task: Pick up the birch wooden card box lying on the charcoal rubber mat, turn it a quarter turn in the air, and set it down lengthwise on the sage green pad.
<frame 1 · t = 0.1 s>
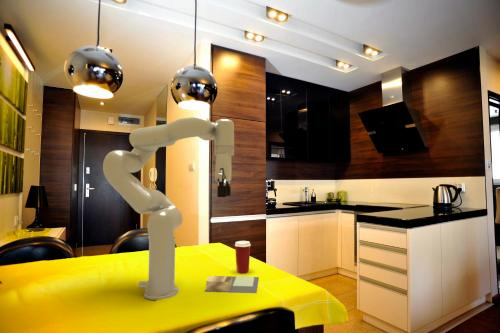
hand: (224, 196, 104), 37 cm above the table, tool pointing down, fingers open, 9 cm apart
paper cup: (242, 272, 128), on the table
mat: (233, 284, 112), on the table
card box: (219, 288, 108), resting on mat
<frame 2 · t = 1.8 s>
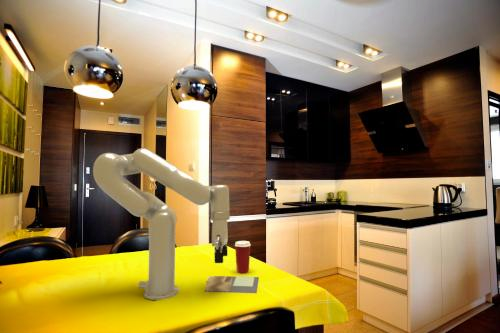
hand: (221, 259, 109), 11 cm above the table, tool pointing down, fingers open, 9 cm apart
nothing on the table moved.
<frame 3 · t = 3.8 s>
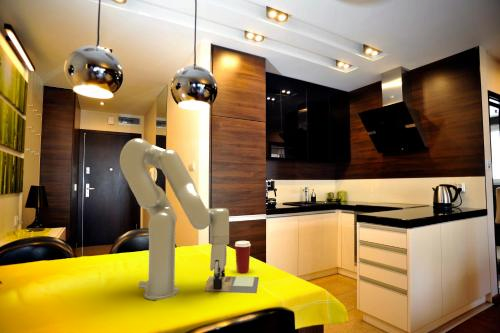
hand: (219, 285, 108), 1 cm above the table, tool pointing down, fingers closed on card box, 6 cm apart
card box: (219, 288, 108), resting on mat, touching gripper
everything else where it was.
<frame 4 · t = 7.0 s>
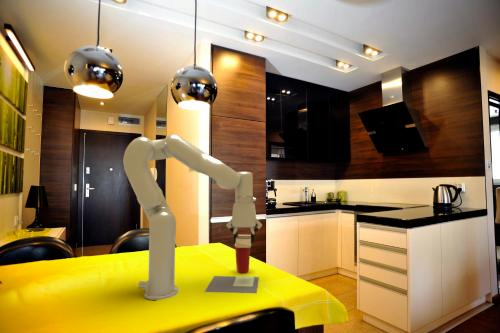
hand: (244, 242, 116), 16 cm above the table, tool pointing down, fingers closed on card box, 6 cm apart
card box: (244, 245, 116), point 15 cm above the table, touching gripper
everything else where it was.
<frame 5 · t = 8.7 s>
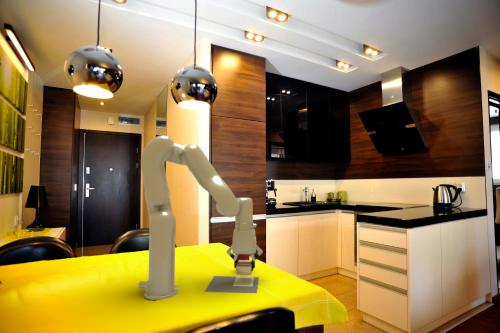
hand: (244, 269, 115), 5 cm above the table, tool pointing down, fingers closed on card box, 6 cm apart
card box: (244, 271, 115), point 4 cm above the table, touching gripper
everything else where it was.
when the fingers open (2 cm above the table, at t = 10.2 s): card box drops 1 cm, resting on mat.
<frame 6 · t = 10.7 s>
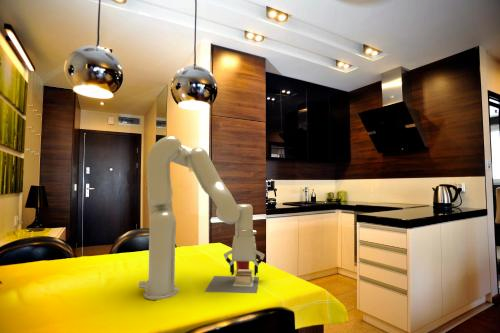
hand: (244, 274, 115), 3 cm above the table, tool pointing down, fingers open, 9 cm apart
card box: (243, 281, 115), resting on mat
everything else where it was.
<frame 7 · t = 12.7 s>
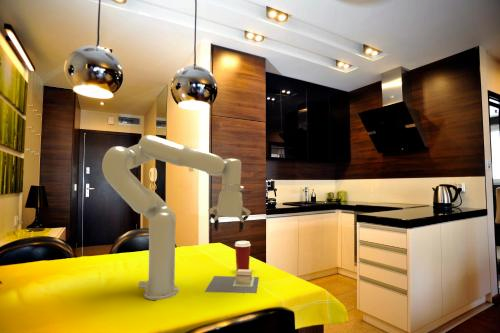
hand: (228, 231, 111), 22 cm above the table, tool pointing down, fingers open, 9 cm apart
nothing on the table moved.
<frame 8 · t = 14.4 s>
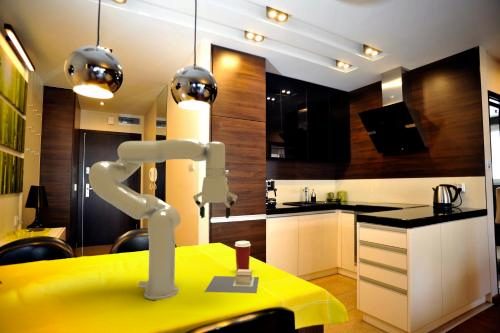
hand: (215, 217, 106), 28 cm above the table, tool pointing down, fingers open, 9 cm apart
nothing on the table moved.
at the end: card box inside the target area on the mat (0.1 cm from its centre), point 0.5 cm above the mat's base; card box tilted 0°; the gripper is holding nothing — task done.
